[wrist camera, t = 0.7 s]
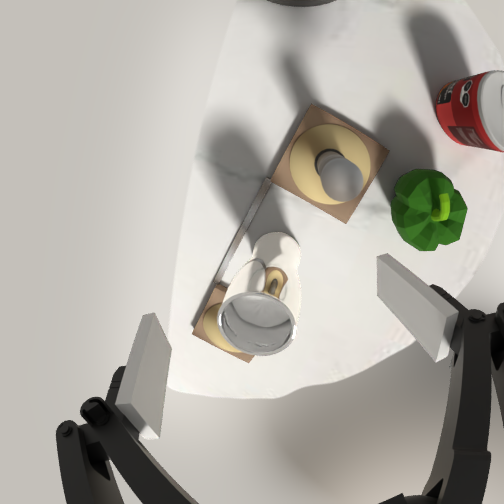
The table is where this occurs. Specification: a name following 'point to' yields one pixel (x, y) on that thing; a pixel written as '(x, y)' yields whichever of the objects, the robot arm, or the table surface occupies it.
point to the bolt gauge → (307, 191)
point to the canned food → (474, 110)
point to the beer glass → (264, 298)
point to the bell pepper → (427, 209)
